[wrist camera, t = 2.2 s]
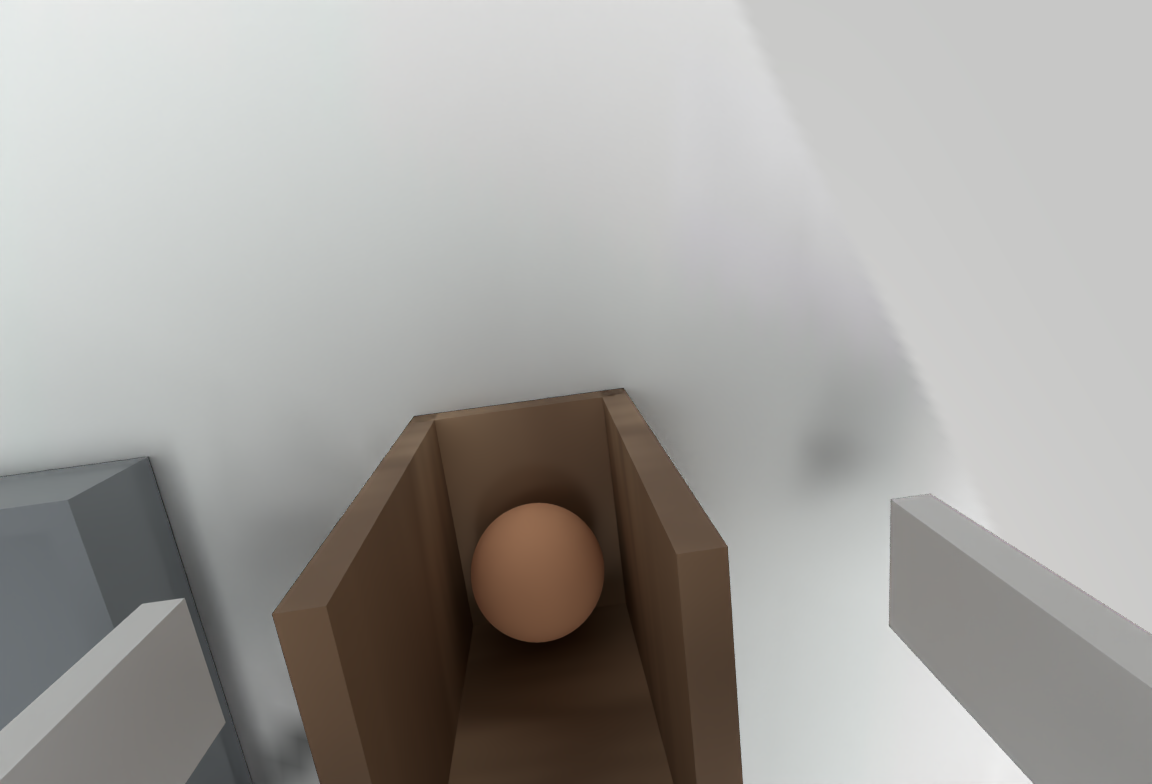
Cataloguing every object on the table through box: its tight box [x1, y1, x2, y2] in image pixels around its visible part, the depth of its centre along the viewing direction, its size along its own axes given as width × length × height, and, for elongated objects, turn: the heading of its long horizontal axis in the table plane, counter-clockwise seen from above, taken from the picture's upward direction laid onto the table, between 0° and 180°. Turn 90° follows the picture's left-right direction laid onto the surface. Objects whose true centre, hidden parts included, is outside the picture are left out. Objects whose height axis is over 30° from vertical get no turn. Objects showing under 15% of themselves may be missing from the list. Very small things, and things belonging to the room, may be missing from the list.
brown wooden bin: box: [272, 388, 743, 784], centre depth 11 cm, size 5×6×8 cm
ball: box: [471, 503, 604, 643], centre depth 13 cm, size 3×3×3 cm
